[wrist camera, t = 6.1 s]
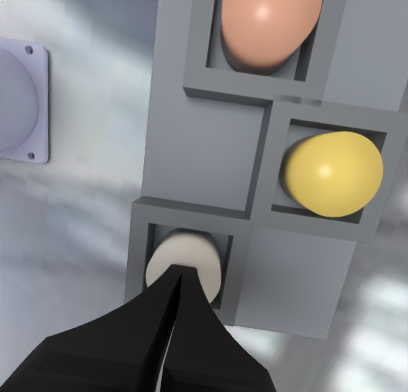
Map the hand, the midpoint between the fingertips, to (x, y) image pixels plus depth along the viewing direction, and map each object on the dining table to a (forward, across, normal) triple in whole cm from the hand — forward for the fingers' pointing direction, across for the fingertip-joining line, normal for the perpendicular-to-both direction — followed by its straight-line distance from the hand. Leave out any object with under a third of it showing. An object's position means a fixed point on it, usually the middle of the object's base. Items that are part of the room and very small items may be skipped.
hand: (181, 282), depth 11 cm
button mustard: (+3, -7, -7) cm, 10 cm away
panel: (+6, -4, -6) cm, 9 cm away
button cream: (+3, 0, 0) cm, 3 cm away
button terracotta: (+3, -2, -13) cm, 13 cm away
